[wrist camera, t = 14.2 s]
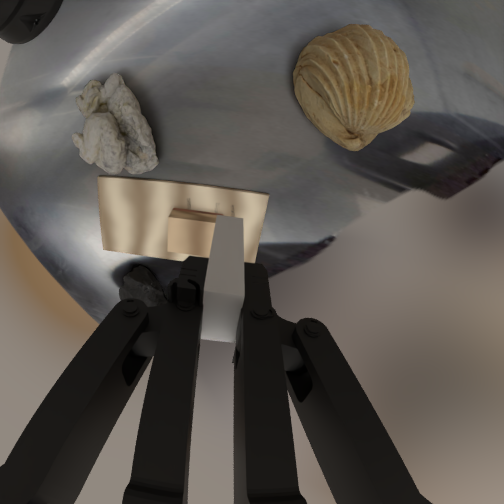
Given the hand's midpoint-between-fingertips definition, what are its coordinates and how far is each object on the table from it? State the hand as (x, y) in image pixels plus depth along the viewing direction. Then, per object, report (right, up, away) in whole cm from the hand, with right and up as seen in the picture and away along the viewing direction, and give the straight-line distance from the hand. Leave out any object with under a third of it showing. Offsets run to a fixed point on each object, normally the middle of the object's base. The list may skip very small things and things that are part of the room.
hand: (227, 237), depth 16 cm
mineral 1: (-18, +19, +19) cm, 32 cm away
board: (-11, +4, +28) cm, 31 cm away
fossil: (+14, +23, +17) cm, 32 cm away
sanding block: (-8, +3, +28) cm, 29 cm away
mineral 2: (-20, -8, +36) cm, 41 cm away
